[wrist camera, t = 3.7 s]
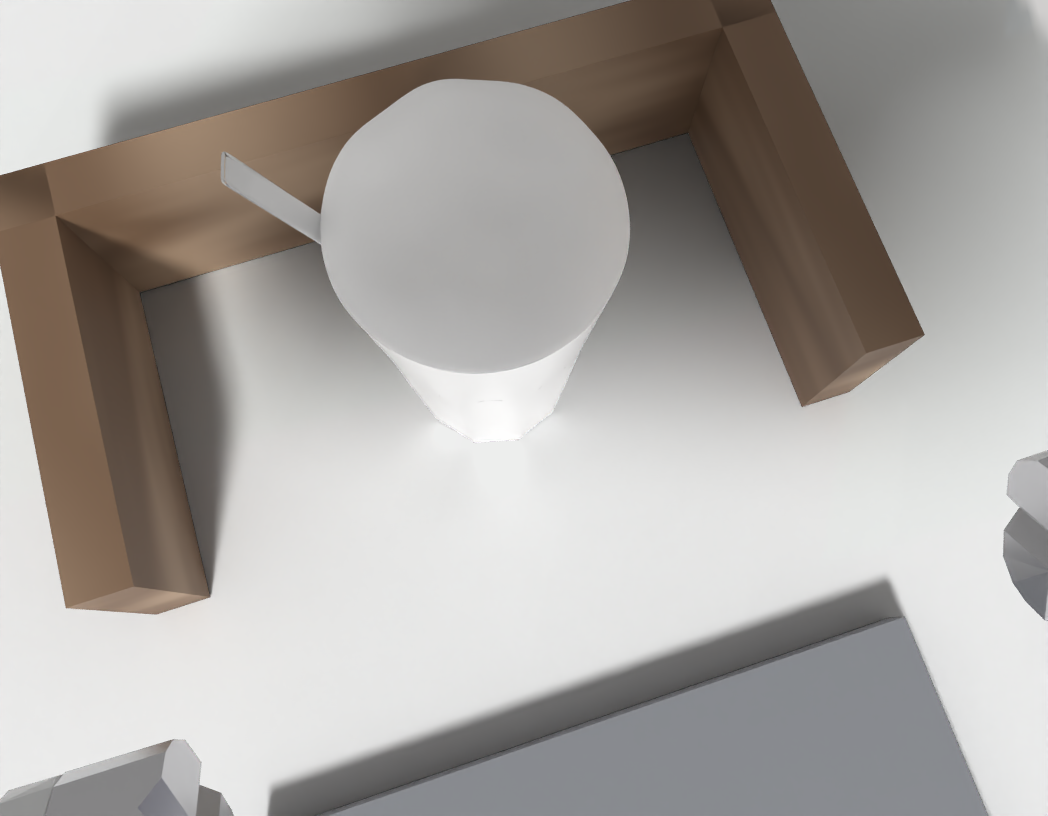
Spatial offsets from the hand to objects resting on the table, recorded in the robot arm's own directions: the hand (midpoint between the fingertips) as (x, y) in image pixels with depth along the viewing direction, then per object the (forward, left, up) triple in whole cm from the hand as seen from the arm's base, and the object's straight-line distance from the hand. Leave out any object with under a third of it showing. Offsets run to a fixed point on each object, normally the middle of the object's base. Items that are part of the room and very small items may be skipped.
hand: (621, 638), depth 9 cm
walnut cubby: (0, +8, -11) cm, 14 cm away
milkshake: (0, +6, -11) cm, 13 cm away
